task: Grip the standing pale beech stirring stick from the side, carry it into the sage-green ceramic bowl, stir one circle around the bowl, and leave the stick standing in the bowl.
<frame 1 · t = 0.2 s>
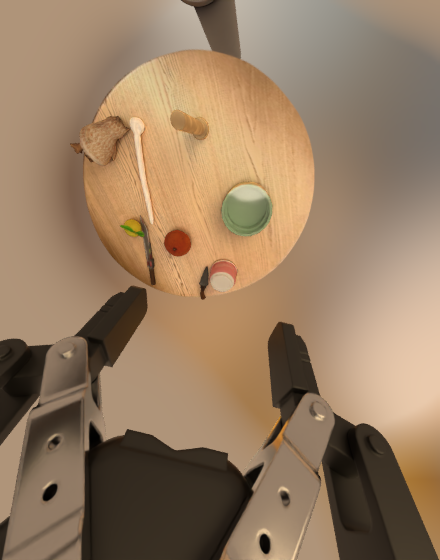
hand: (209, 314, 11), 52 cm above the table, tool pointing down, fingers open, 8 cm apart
stick: (200, 129, 47), on the table
cream knobbed rod: (148, 178, 56), on the table
knife: (211, 286, 76), point 1 cm above the table
container: (221, 284, 65), point 8 cm above the table
bowl: (246, 207, 57), on the table
knife 2: (142, 214, 62), point 1 cm above the table
figurine: (84, 157, 51), point 5 cm above the table
lemon: (130, 224, 66), on the table
fruit: (181, 238, 67), on the table
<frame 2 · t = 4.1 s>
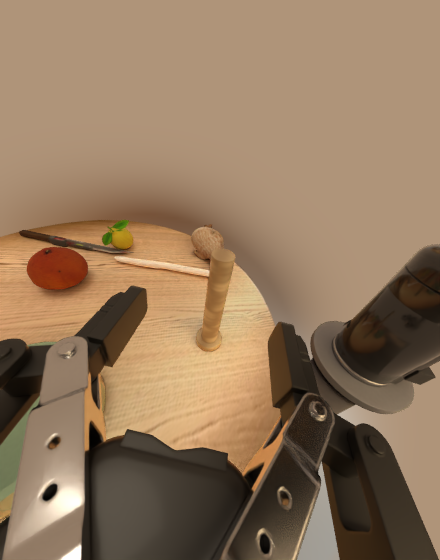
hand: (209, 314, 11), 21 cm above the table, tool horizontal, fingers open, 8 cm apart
stick: (208, 340, 33), on the table
cream knobbed rod: (169, 272, 45), on the table
bowl: (35, 422, 21), on the table
knife 2: (132, 255, 48), point 1 cm above the table
figurine: (201, 231, 54), point 5 cm above the table
lemon: (127, 243, 53), on the table
fruit: (67, 283, 38), on the table
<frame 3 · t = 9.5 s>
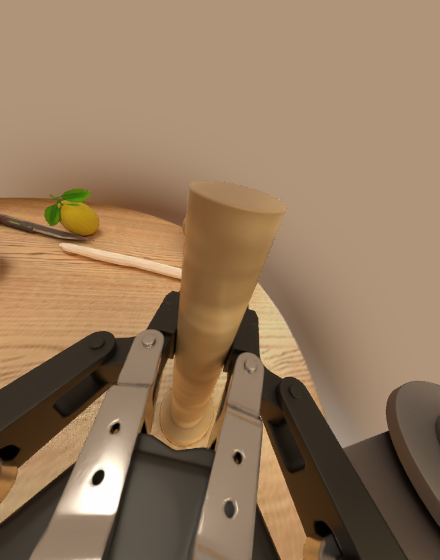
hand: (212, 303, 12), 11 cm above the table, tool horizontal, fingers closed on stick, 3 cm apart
stick: (186, 413, 16), on the table, touching gripper
cream knobbed rod: (142, 274, 29), on the table
knife 2: (91, 243, 32), point 1 cm above the table
lemon: (93, 229, 37), on the table
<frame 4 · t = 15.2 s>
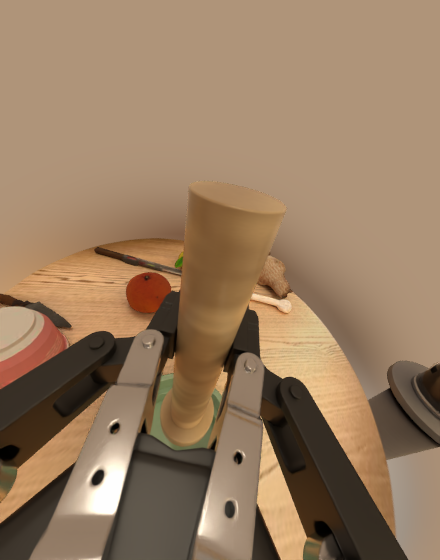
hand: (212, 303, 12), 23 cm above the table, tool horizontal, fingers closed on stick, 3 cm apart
stick: (186, 413, 16), point 12 cm above the table, touching gripper
cream knobbed rod: (236, 298, 47), on the table
knife: (8, 322, 31), point 1 cm above the table
bowl: (170, 453, 23), on the table
knife 2: (199, 278, 50), point 1 cm above the table
figurine: (258, 258, 57), point 5 cm above the table
lemon: (190, 265, 55), on the table
fruit: (150, 305, 41), on the table
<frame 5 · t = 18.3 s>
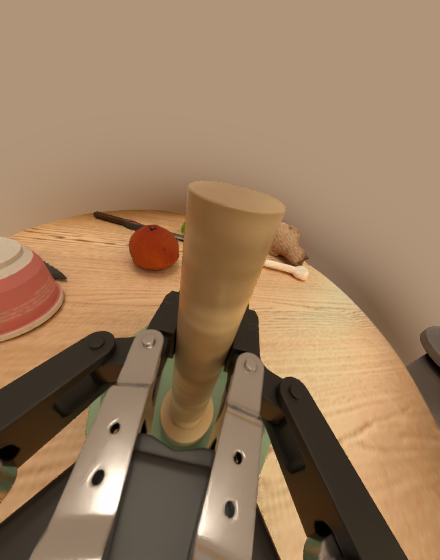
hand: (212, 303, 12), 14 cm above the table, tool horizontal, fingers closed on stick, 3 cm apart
stick: (186, 413, 16), point 3 cm above the table, touching gripper
cream knobbed rod: (248, 265, 43), on the table
bowl: (185, 407, 19), on the table
knife 2: (207, 244, 46), point 1 cm above the table
figurine: (270, 228, 53), point 5 cm above the table
fruit: (156, 266, 37), on the table
when the fingers open (11 cm above the table, at t = 20.8 s): stick stays where it is, resting on bowl.
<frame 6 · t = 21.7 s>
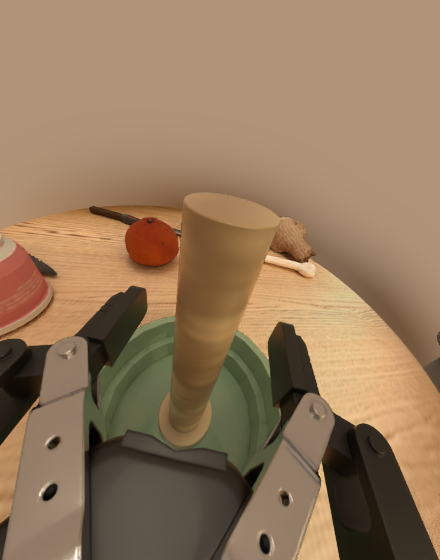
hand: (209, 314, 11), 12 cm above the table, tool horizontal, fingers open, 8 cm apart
stick: (184, 416, 16), point 1 cm above the table, touching bowl
cream knobbed rod: (252, 262, 41), on the table
bowl: (185, 417, 16), on the table
knife 2: (208, 240, 44), point 1 cm above the table
figurine: (273, 224, 51), point 5 cm above the table
fruit: (154, 262, 34), on the table
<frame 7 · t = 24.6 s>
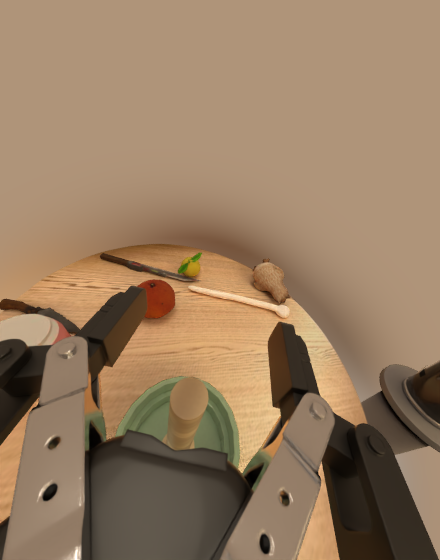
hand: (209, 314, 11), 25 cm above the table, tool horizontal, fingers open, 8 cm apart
stick: (176, 450, 24), point 1 cm above the table, touching bowl
cream knobbed rod: (237, 304, 49), on the table
knife: (22, 327, 33), point 1 cm above the table
container: (12, 335, 24), point 8 cm above the table
bowl: (177, 450, 25), on the table
knife 2: (201, 283, 52), point 1 cm above the table
figurine: (258, 264, 59), point 5 cm above the table
lemon: (192, 270, 57), on the table
fruit: (155, 310, 42), on the table
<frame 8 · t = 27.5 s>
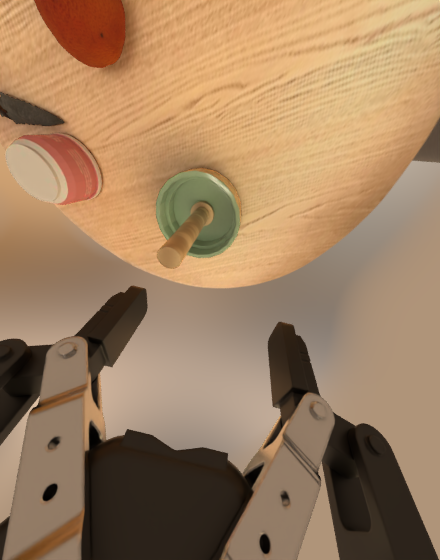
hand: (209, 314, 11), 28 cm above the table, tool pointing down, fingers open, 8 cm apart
stick: (203, 212, 35), point 1 cm above the table, touching bowl
knife: (19, 134, 31), point 1 cm above the table
container: (31, 175, 27), point 8 cm above the table
bowl: (204, 211, 35), on the table
fruit: (105, 25, 24), on the table
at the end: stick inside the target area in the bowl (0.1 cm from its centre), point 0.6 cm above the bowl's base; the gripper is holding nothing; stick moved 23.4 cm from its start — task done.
